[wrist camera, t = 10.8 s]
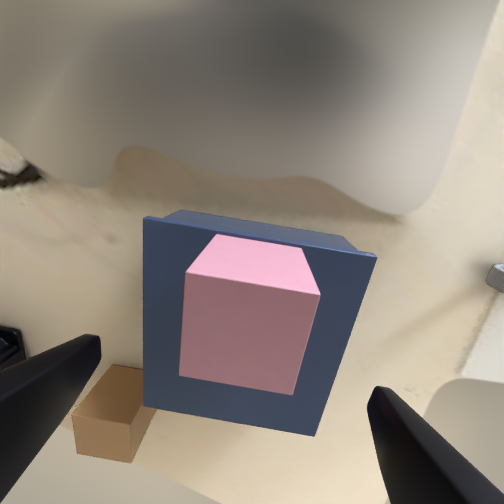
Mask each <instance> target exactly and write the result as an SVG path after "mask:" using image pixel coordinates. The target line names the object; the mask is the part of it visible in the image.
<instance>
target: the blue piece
mask: <svg viewBox="0 0 504 504" xmlns="http://www.w3.org/2000/svg"><path fill="white" fill-rule="evenodd" d="M216 234H219V235H225V236H231V237H237V238H243V239H249V240H255V241H261V242H267V243H274V244H280V245H286V246H292V247H298V248H302V251H303V253H304V256H305V258H306V260H307V263H308V265H309V268H310V270H311V272H312V275H313V277H314V280H315V282H316V285H317V287H318V289H319V292H320V294H321V295H320V299H319V303H318V306H317V310H316V313H315V317H314V320H313V324H312V327H311V331H310V334H309V338H308V342H307V345H306V349H305V352H304V356H303V359H302V363H301V366H300V370H299V374H298V377H297V381H296V384H295V388H294V391H293V395H287V394H282V393H276V392H270V391H264V390H259V389H253V388H247V387H242V386H236V385H230V384H224V383H219V382H213V381H207V380H201V379H196V378H190V377H184V376H179V363H180V347H181V332H182V316H183V300H184V285H185V272H186V271H187V269H188V268H189V267H190V266H191V264H192V263H193V262H194V261H195V260H196V258H197V257H198V256H199V255H200V253H201V252H202V251H203V250H204V249H205V247H206V246H207V245H208V244H209V243H210V241H211V240H212V239H213V238H214V236H215V235H216ZM376 260H377V256H376V255H374V254H373V253H368V252H362V251H358V250H357V249H356V248H355V247H354V246H353V245H352V244H351V243H349V242H348V241H347V240H346V239H345V238H344V237H343V236H337V235H331V234H325V233H319V232H313V231H307V230H301V229H295V228H289V227H282V226H276V225H270V224H264V223H258V222H252V221H246V220H240V219H234V218H228V217H222V216H216V215H210V214H204V213H197V212H191V211H185V210H179V211H177V212H175V213H173V214H170V215H168V216H166V217H164V218H157V217H151V216H147V217H145V218H143V406H144V407H150V408H155V409H161V410H166V411H172V412H178V413H183V414H189V415H195V416H200V417H206V418H212V419H217V420H223V421H229V422H234V423H240V424H246V425H251V426H257V427H263V428H268V429H274V430H279V431H285V432H291V433H296V434H302V435H308V436H313V437H314V436H315V434H316V431H317V428H318V425H319V422H320V420H321V417H322V414H323V411H324V408H325V405H326V403H327V400H328V397H329V394H330V391H331V388H332V385H333V383H334V380H335V377H336V374H337V371H338V368H339V365H340V363H341V360H342V357H343V354H344V351H345V348H346V346H347V343H348V340H349V337H350V334H351V331H352V328H353V326H354V323H355V320H356V317H357V314H358V311H359V309H360V306H361V303H362V300H363V297H364V294H365V291H366V289H367V286H368V283H369V280H370V277H371V274H372V272H373V269H374V266H375V263H376Z"/></svg>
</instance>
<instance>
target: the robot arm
mask: <svg viewBox="0 0 504 504" xmlns="http://www.w3.org/2000/svg"><path fill="white" fill-rule="evenodd" d="M100 360H101V341H100V337H99V336H97V335H91V334H84V335H82V336H79V337H77V338H75V339H73V340H70V341H68V342H66V343H63V344H61V345H59V346H56V347H54V348H52V349H49V350H47V351H45V352H42V353H40V354H38V355H36V356H33V357H31V358H29V359H26V355H25V350H24V345H23V341H22V336H21V333H20V331H19V330H17V329H14V328H8V327H2V326H0V503H1V502H2V500H3V499H4V498H5V496H6V495H7V494H8V492H9V491H10V490H11V488H12V487H13V486H14V484H15V483H16V482H17V480H18V479H19V478H20V476H21V475H22V474H23V472H24V471H25V470H26V468H27V467H28V466H29V464H30V463H31V462H32V460H33V459H34V458H35V456H36V455H37V454H38V452H39V451H40V450H41V448H42V447H43V446H44V444H45V443H46V441H47V440H48V439H49V438H50V436H51V435H52V434H53V432H54V431H55V430H56V428H57V427H58V426H59V424H60V423H61V422H62V420H63V419H64V417H65V416H66V415H67V413H68V412H69V410H70V409H71V407H72V406H73V404H74V403H75V401H76V400H77V398H78V396H79V395H80V393H81V392H82V390H83V388H84V387H85V385H86V384H87V382H88V380H89V379H90V377H91V376H92V374H93V372H94V371H95V369H96V368H97V366H98V364H99V362H100ZM367 413H368V417H369V422H370V426H371V431H372V435H373V440H374V444H375V449H376V453H377V458H378V462H379V466H380V470H381V473H382V477H383V480H384V484H385V487H386V490H387V493H388V496H389V499H390V503H391V504H504V494H503V493H502V492H501V491H500V490H499V489H498V488H496V487H495V486H494V485H493V484H492V483H491V482H490V481H489V480H488V479H487V478H486V477H485V476H484V475H483V474H482V473H481V472H479V471H478V470H477V469H476V468H475V467H474V466H473V465H472V464H471V463H470V462H469V461H468V460H467V459H466V458H464V457H463V456H462V455H461V454H460V453H459V452H458V451H457V450H456V449H455V448H454V447H453V446H452V445H451V444H450V443H448V442H447V441H446V440H445V439H444V438H443V437H442V436H441V435H440V434H439V433H438V432H437V431H436V430H435V429H433V428H432V427H431V426H430V425H429V424H428V423H427V422H426V421H425V420H424V419H423V418H422V417H421V416H420V415H418V414H417V413H416V412H415V411H414V410H413V409H412V408H411V407H410V406H409V405H408V404H407V403H406V402H405V401H403V400H402V399H401V398H400V397H399V396H398V395H397V394H396V393H395V392H394V391H393V390H392V389H390V388H387V387H382V386H376V387H375V388H374V390H373V392H372V395H371V397H370V399H369V401H368V404H367Z"/></svg>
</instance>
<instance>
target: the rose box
mask: <svg viewBox="0 0 504 504" xmlns="http://www.w3.org/2000/svg"><path fill="white" fill-rule="evenodd" d="M320 295H321V294H320V292H319V289H318V287H317V285H316V282H315V280H314V277H313V275H312V272H311V270H310V268H309V265H308V263H307V260H306V258H305V256H304V253H303V251H302V248H298V247H292V246H286V245H280V244H274V243H267V242H261V241H255V240H249V239H243V238H237V237H231V236H225V235H219V234H216V235H215V236H214V238H213V239H212V240H211V241H210V243H209V244H208V245H207V246H206V247H205V249H204V250H203V251H202V252H201V253H200V255H199V256H198V257H197V258H196V260H195V261H194V262H193V263H192V264H191V266H190V267H189V268H188V269H187V271H186V272H185V285H184V300H183V316H182V332H181V347H180V363H179V376H184V377H190V378H196V379H201V380H207V381H213V382H219V383H224V384H230V385H236V386H242V387H247V388H253V389H259V390H264V391H270V392H276V393H282V394H287V395H293V391H294V388H295V384H296V381H297V377H298V374H299V370H300V366H301V363H302V359H303V356H304V352H305V349H306V345H307V342H308V338H309V334H310V331H311V327H312V324H313V320H314V317H315V313H316V310H317V306H318V303H319V299H320Z"/></svg>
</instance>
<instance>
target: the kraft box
mask: <svg viewBox="0 0 504 504" xmlns="http://www.w3.org/2000/svg"><path fill="white" fill-rule="evenodd" d="M155 412H156V409H155V408H150V407H144V406H143V370H140V369H134V368H128V367H123V366H117V365H111V366H110V368H109V369H108V370H107V371H106V373H105V374H104V375H103V376H102V377H101V379H100V380H99V381H98V382H97V384H96V385H95V386H94V387H93V389H92V390H91V391H90V392H89V394H88V395H87V396H86V397H85V399H84V400H83V401H82V402H81V404H80V405H79V406H78V407H77V408H76V410H75V411H74V412H73V413H72V422H73V429H74V436H75V443H76V450H77V454H82V455H87V456H93V457H99V458H104V459H110V460H115V461H121V462H126V463H131V462H132V461H133V458H134V456H135V454H136V452H137V450H138V448H139V446H140V444H141V441H142V439H143V437H144V435H145V433H146V431H147V429H148V426H149V424H150V422H151V420H152V418H153V416H154V414H155Z"/></svg>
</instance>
